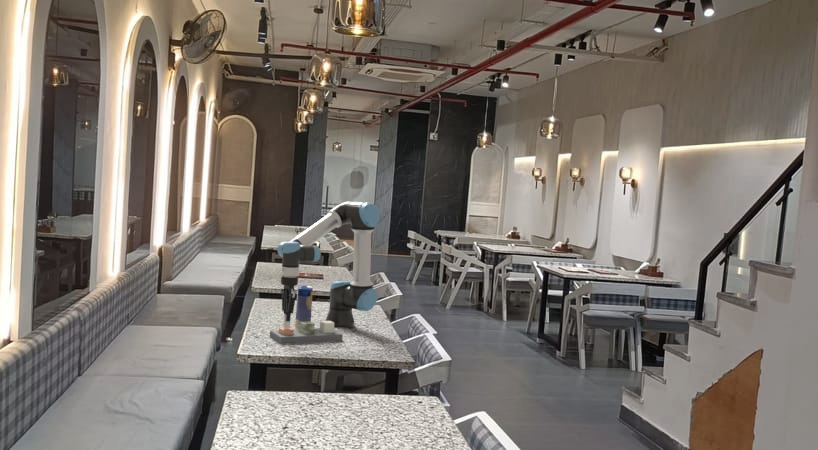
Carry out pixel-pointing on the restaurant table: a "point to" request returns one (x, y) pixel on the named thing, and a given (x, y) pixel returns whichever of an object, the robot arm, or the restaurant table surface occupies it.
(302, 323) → the sage block
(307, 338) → the gray slotted block tray
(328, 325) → the off-white block
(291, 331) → the terracotta block
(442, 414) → the restaurant table surface
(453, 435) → the restaurant table surface
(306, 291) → the beverage box
